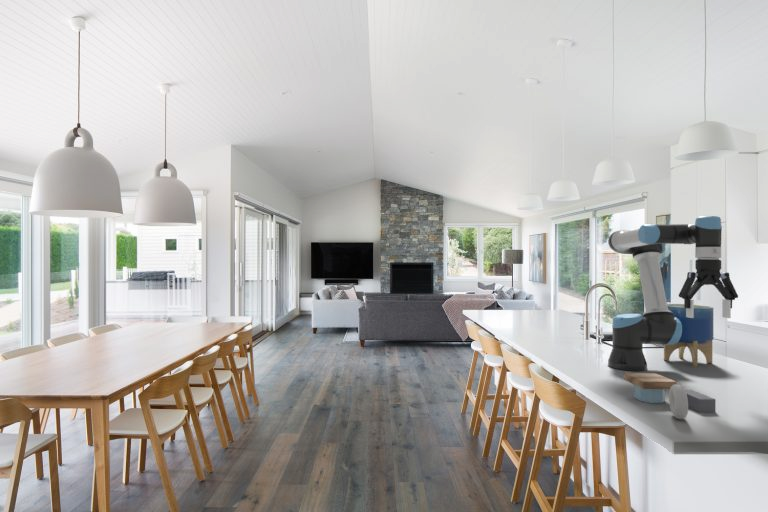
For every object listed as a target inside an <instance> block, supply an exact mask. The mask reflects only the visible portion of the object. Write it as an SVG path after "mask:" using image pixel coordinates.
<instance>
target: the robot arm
mask: <svg viewBox="0 0 768 512" xmlns="http://www.w3.org/2000/svg"><path fill="white" fill-rule="evenodd" d="M722 228H723V226H722V218H721V217H720V216H717V215H716V216H715V215H706V216H705V215H704V216H698V217H696V218H695V222H694V223H691V224H690V223H687V224H685V223H684V224H683V223H677V224H672V223H671V224H654V223H648V224H641V226H640V227H639V228H635V229H620V230H616V231H614V232H612V233H611V234H610V236H609V237H608V240H607V241H608V242H607V243H608V246H609V248H610V249H611V250H612V251H613V252H614V253H618V254H621V255H632V260H633V261H635V262H637V267H638V274H639V278H640V279H639V280H640V285H641V291H642V296H643V301H644V302H643V303H644V308H645V311H644V312H643V314H640V313H622V314H617V315H615V316H614V317H613V319H612V325H611V327H612V349H611V352H610V355H609V358H608V360H607V362H608V363H607V365H608V366H609V367H610V368H614V369H617V370H623V371H628V372H630V371H631V372H644V371H645V372H646V371H647V370H648V362H647V359H646V357H645V353H644V351H643V350H644V349H643V345H663V346H664V345H667V344H676V343H677V342H678V341H679V340H680V337H681V335H682V324H681V322H680V320H679V319H678V318H674V316H673V312H671V311H670V310H668V306H667V304H668V302H667V301H668V300H667V297H666V290H665V287H664V281H663V276H662V275H663V274H662V269H661V265H660V261H659V260H660V258H661V257H662V255H663V253H665V251H666V244H667V245H668V244H670V245H671V244H672V245H673V244H674V245H677V244H678V245H692V244H695V250H694V251H695V253H694V255H695V258H696V259H695V260H694V261H695V262H694V263H695V265H694V266H695V270H696V272H694V271H693V272H692V271H689V272H687V274H686V275H687V276H686V279H685V281H684V284H683V285H682V287H681V290H680V291H679V294H678V297H679V298H681V299H682V300H684V302H683V304H684V307H685V308H686V317H689V318H694V305H695V303H694V302H695V300H694V299H693V298H694V296H695V295H696V294H697V292H699V290H700V289H701V288H702V287H704V286H705V285H706V286H709V285H712V286H714V287H715V288H716V289H717V291H718V292H719V293H720V294H721V295H722V297H723V298H724V299H721V300H722V303H721V305H722V308H721V309H722V311H721V312H722V313H721V314H722V315H721V316H722V318H726V319H731V311H732V310H731V309H732V308H733V301H735V300H736V299H738V298H739V295H738V293H737V291H736V288H735V287H734V284H733V283H732V280H731V278H730V273H729V272H728V271H727V272H723V271H722V272H721V270H722V260H721V258H722V231H723V230H722Z"/></svg>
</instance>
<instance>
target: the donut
mask: <svg viewBox="0 0 768 512" xmlns="http://www.w3.org/2000/svg"><path fill="white" fill-rule="evenodd" d="M685 390H686V389H685V387H684V386H682V385H681V384H678V383H677V384H675V385H673V386H671V388H670V389H669V392H668V395H669V396H668V401H669V408H670V411H671V415H672V416H673V417H674V418H676V419H678V420H684V419H686V418H687V416H688V413H689V407H688V398H687V394H686V391H685Z"/></svg>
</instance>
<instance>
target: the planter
mask: <svg viewBox="0 0 768 512" xmlns="http://www.w3.org/2000/svg"><path fill="white" fill-rule="evenodd" d="M667 306H668V310H670V311H671V312H673V316H674V318H678V319H679V320H680V322H681V324H682V335H681V337H680V340H679V341H678V342H677V343H676V344H667V345H663V360H664V361H665V360H669V361H670V357H671V355H672V354H673V353H674V352H675V351H676V350H677V349H678V358H679V357H680V358H679V359H684V353H685V349H686V348H688V350H689V353H690V356H691V361H692V363H691V364H692V366H693V367H694V366H698V365H699V364H698V362H699V361H698V357H699V356H698V355H699V354H698V350H699V352H701V353H702V354H703V355H704V357H705V360H706V361H705V363H706V364H708V363H712V364H713V340H714V307H713V306H710V305H704V304H703V305H701V304H694V318H689V317H686V308H685V307H684V303H667ZM698 367H699V366H698Z"/></svg>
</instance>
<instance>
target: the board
mask: <svg viewBox="0 0 768 512" xmlns="http://www.w3.org/2000/svg"><path fill="white" fill-rule="evenodd" d="M623 378H624V379H623V381H626V382H628V383H630V384H632V385H633V386H634V385H636V386H638V387H641V388H643V389H665V390H670V388H671V386H673V385H675V384H678V383H677V382H678V381H675V380H674V379H671V378H668V377H666V376H663V375H661V374H659V373H656V372H624V374H623Z"/></svg>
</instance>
